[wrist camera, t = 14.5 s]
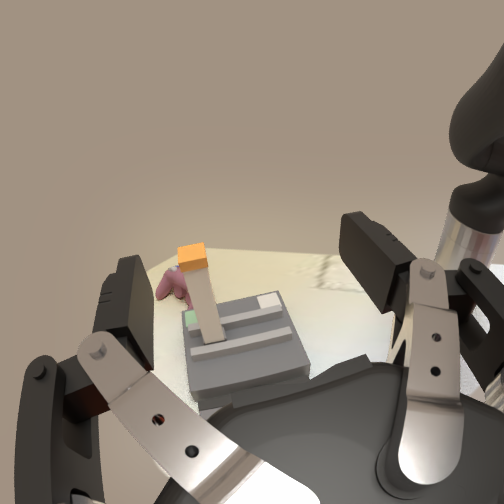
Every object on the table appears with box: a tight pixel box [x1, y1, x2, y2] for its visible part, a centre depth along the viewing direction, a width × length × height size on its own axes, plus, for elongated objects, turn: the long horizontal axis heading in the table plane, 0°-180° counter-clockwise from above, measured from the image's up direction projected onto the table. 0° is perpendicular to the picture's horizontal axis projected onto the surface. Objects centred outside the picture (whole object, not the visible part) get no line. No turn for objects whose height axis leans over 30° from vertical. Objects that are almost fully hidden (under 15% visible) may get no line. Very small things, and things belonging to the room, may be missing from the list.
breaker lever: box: [178, 242, 227, 346], centre depth 34 cm, size 3×3×14 cm
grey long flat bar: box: [198, 375, 310, 420], centre depth 33 cm, size 14×3×1 cm, turn 103°
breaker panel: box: [182, 291, 311, 402], centre depth 39 cm, size 15×14×4 cm
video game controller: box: [156, 266, 194, 310], centre depth 48 cm, size 10×5×7 cm, turn 51°
